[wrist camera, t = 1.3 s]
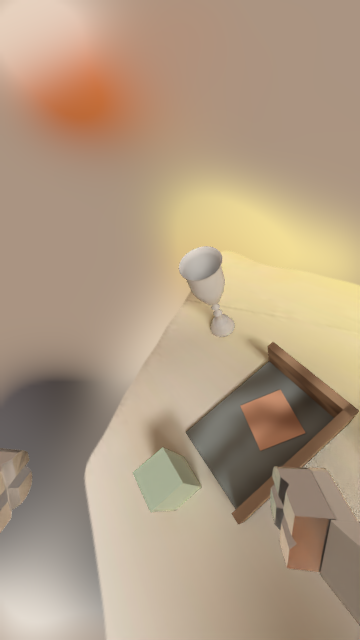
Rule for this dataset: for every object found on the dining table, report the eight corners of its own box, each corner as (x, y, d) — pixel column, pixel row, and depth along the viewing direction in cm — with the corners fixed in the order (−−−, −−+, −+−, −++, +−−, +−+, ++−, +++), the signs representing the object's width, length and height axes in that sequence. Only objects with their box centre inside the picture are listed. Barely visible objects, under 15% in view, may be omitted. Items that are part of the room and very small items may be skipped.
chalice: (241, 338, 49) (225, 274, 36) (207, 344, 51) (179, 285, 37) (236, 309, 54) (219, 241, 40) (205, 315, 55) (178, 253, 42)
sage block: (201, 486, 38) (183, 483, 31) (175, 510, 37) (150, 512, 30) (183, 456, 41) (162, 447, 34) (158, 477, 40) (132, 472, 33)
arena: (349, 422, 36) (359, 410, 32) (244, 521, 34) (238, 524, 29) (274, 358, 45) (273, 341, 40) (186, 433, 43) (174, 424, 38)
